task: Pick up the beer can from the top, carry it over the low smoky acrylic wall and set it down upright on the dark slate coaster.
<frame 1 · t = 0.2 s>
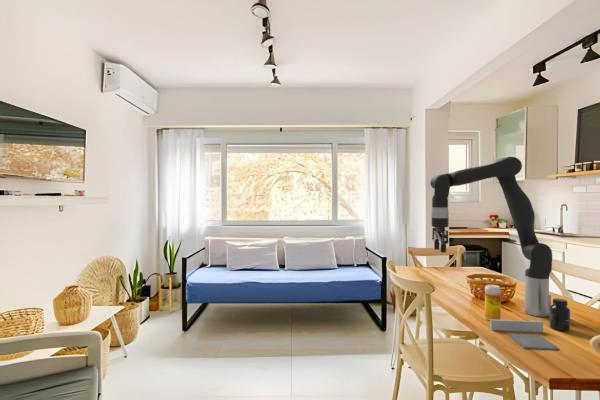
hand: (440, 250, 163), 29 cm above the table, tool pointing down, fingers open, 8 cm apart
slate coaster: (531, 342, 129), on the table
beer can: (492, 319, 152), on the table
acrylic wall: (516, 330, 140), on the table
supplement bottle: (559, 329, 142), on the table
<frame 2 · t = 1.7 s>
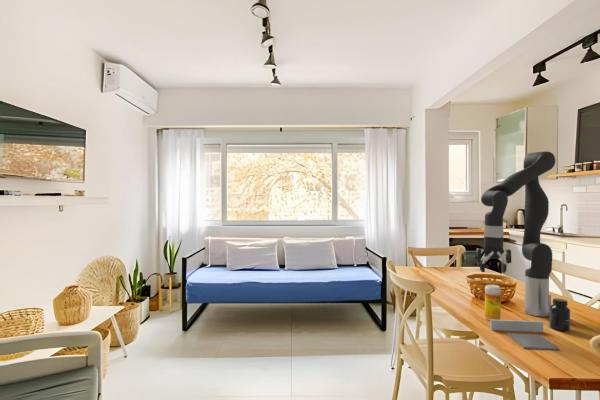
hand: (492, 272, 152), 21 cm above the table, tool pointing down, fingers open, 8 cm apart
nothing on the table moved.
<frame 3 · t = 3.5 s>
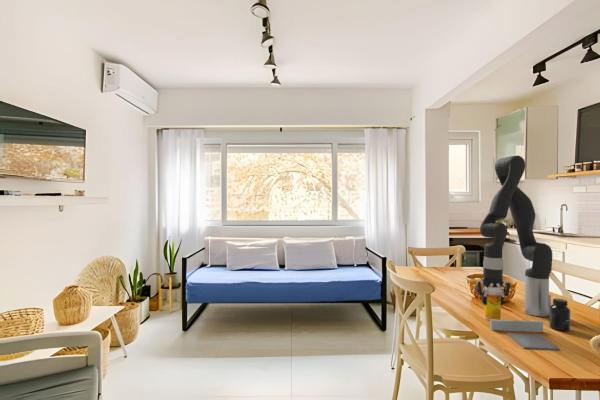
hand: (492, 304, 152), 7 cm above the table, tool pointing down, fingers closed on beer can, 6 cm apart
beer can: (492, 319, 152), on the table, touching gripper
everything else where it was.
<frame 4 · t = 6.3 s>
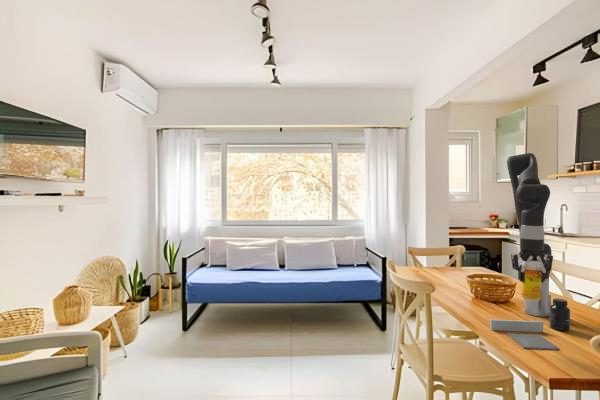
hand: (531, 281, 129), 23 cm above the table, tool pointing down, fingers closed on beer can, 6 cm apart
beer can: (531, 299, 129), point 16 cm above the table, touching gripper
everything else where it was.
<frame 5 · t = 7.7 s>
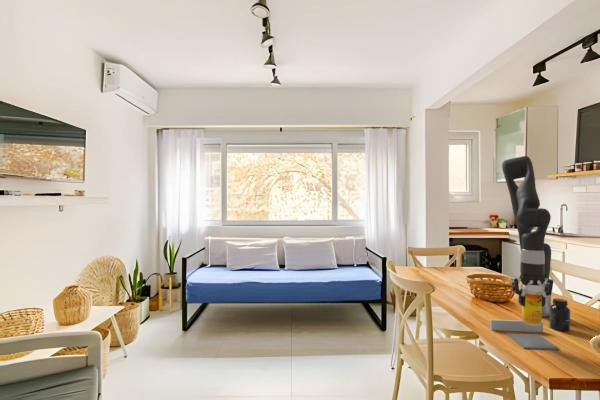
hand: (531, 305, 129), 14 cm above the table, tool pointing down, fingers closed on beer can, 6 cm apart
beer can: (531, 323, 129), point 7 cm above the table, touching gripper
everything else where it was.
when the fingers open (8 cm above the table, at t = 9.1 s): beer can stays where it is, resting on slate coaster.
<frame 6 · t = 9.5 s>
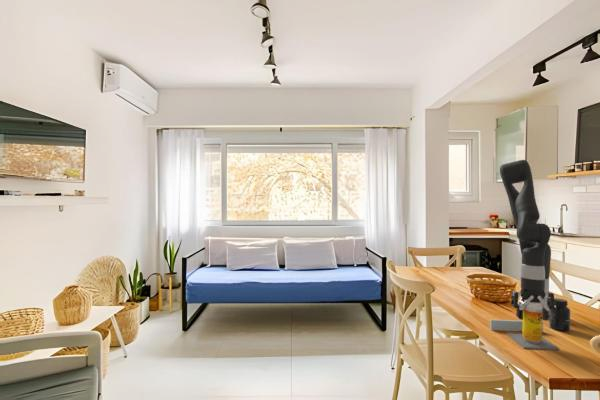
hand: (532, 319, 128), 9 cm above the table, tool pointing down, fingers open, 8 cm apart
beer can: (531, 340, 129), resting on slate coaster
everything else where it was.
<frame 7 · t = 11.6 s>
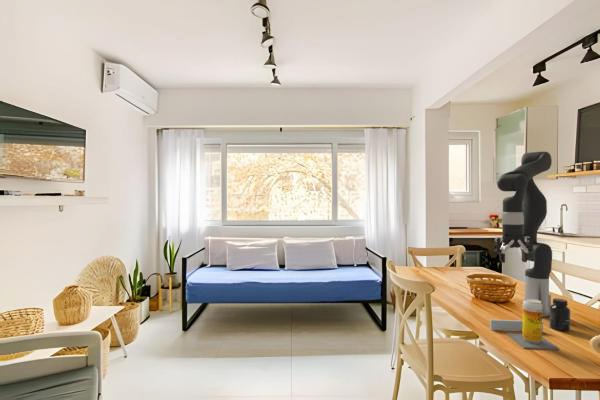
hand: (513, 262, 141), 28 cm above the table, tool pointing down, fingers open, 8 cm apart
nothing on the table moved.
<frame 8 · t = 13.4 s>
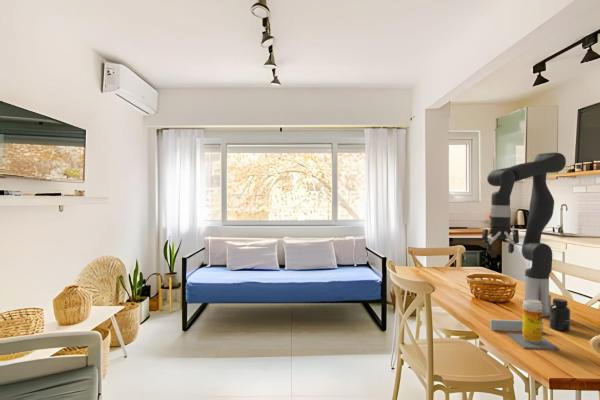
hand: (500, 252, 149), 30 cm above the table, tool pointing down, fingers open, 8 cm apart
nothing on the table moved.
at the end: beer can inside the target area on the slate coaster (0.1 cm from its centre), point 0.4 cm above the slate coaster's base; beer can tilted 0°; the gripper is holding nothing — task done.
